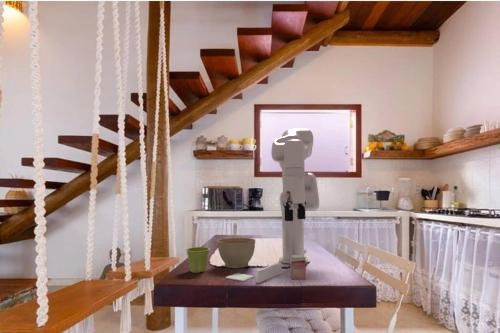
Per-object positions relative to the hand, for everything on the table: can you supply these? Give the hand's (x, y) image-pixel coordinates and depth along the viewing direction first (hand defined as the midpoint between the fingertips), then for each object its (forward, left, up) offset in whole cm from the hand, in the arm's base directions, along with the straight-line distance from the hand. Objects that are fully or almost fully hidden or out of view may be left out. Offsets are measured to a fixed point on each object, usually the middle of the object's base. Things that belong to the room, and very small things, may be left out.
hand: (295, 220), depth 120 cm
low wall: (+5, -9, -21) cm, 23 cm away
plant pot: (+12, -38, -21) cm, 45 cm away
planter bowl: (-3, -30, -21) cm, 36 cm away
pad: (+11, -18, -21) cm, 29 cm away
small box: (0, 0, -21) cm, 21 cm away
